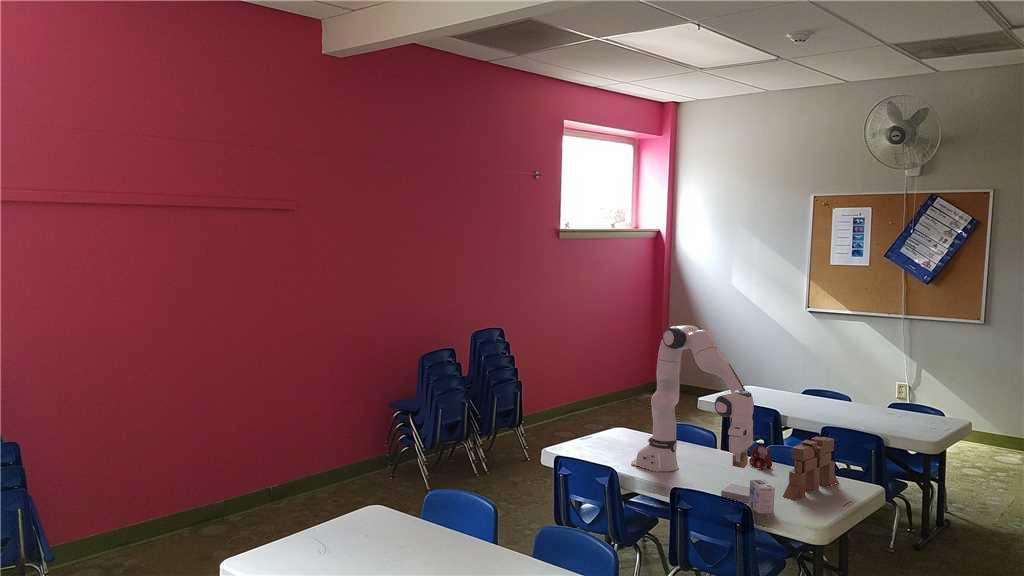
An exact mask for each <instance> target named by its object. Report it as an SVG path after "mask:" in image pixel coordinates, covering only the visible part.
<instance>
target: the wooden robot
mask: <svg viewBox="0 0 1024 576" xmlns="http://www.w3.org/2000/svg"><path fill="white" fill-rule="evenodd" d="M834 450H835V438H831V437H827V436H826V437H825V436H815V437H811V440H809V439H805V440H803V441H801V444H797V445H795V446H792V447H791V459H792V460H794V461H793V462H794V464H793V467H794V468H793V469H792V470H790V471H789V473H788V475H789V476H788V484H787V486H786V488H785V490H784V492H783V494H782V497H784V498H783V499H786V498H787V500H789V499H791V500H790V501H795V499H796V500H797V499H801V498H803V497H805V496H806V491H807V492H810V491H811V492H810V493H815V492H817V491H819V489H820V486H823V485H824V486H823V487H827V486H830V487H832V486H834V485H836V484H835V483H837V484H838V482H839V480H838V478H837V476H836V473H835V466H836V465H835V464H836V463H835V461H832V452H834ZM819 484H821V485H819ZM833 484H834V485H833ZM831 485H832V486H831ZM816 490H817V491H816ZM814 491H815V492H814Z"/></svg>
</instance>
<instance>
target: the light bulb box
mask: <svg viewBox="0 0 1024 576" xmlns="http://www.w3.org/2000/svg"><path fill="white" fill-rule="evenodd" d="M749 487H750V495H749V502H748V505H749V506H750V507H751V508H752V509H753V511H756V513H757V514H774V513H775V491H776V487H775V486H773V485H772V484H771V483H769V481H767V480H765V479H750V480H749Z"/></svg>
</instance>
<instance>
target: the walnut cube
mask: <svg viewBox="0 0 1024 576" xmlns="http://www.w3.org/2000/svg"><path fill="white" fill-rule="evenodd" d="M740 457H741V461H740V462H737V461H736V456H735V454H733V453H732V467H734V468H741V469H745V468H746V467H747V466H748V463H749V460H748V459H749V456H748V452H747V453H743V452H741V454H740Z"/></svg>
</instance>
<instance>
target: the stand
mask: <svg viewBox="0 0 1024 576" xmlns="http://www.w3.org/2000/svg"><path fill="white" fill-rule="evenodd" d="M720 495H721V497H722V496H725V497H724V498H727V497H729V498H728V499H732V500H737V501H741V500H742V501H741V502H747V503H749V495H750V486H745V485H740V484H739V485H738V484H734V483H730V484H728V485H727V486H726V487H725V488H723V489H722V490H721V492H720Z"/></svg>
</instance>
